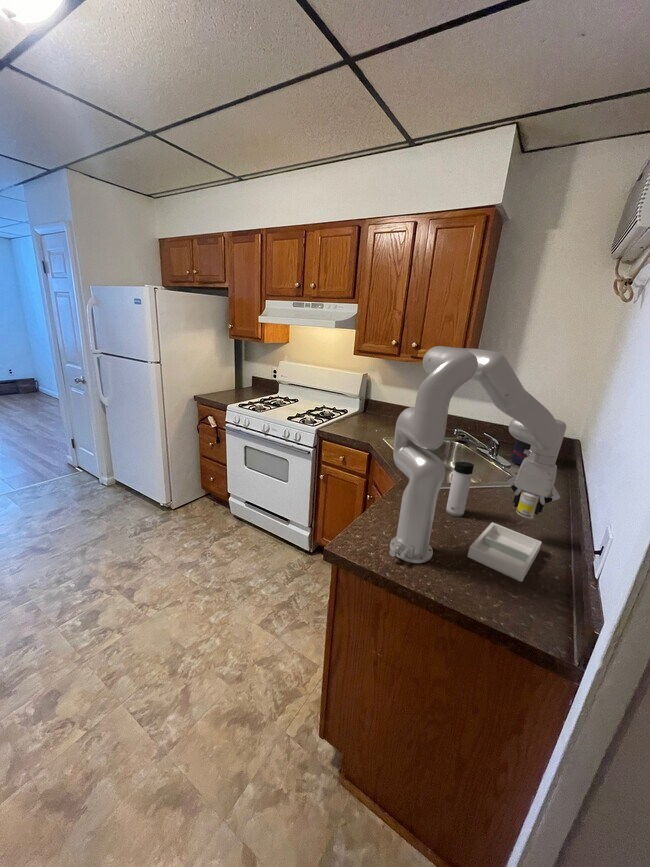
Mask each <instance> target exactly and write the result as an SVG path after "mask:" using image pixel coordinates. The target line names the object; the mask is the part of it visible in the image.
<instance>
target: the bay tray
mask: <svg viewBox="0 0 650 867" xmlns="http://www.w3.org/2000/svg"><path fill="white" fill-rule="evenodd" d="M541 546H542V541H541V540H538V539H535V538H533V537H531V536H528V535H525V534H523V533H520V532H517V531H515V530H512V529H510V528H508V527H505V526H503V525H500V524H498V523H495V522H493V521H492V522H491V523H489V525H488V526H487V527H486V528H485V529H484V531H482V533H481V534H480V535H479V536H478V537H477V538H476V539H475V540H474V541H473V542H472V544H471V545H470V546H469V547H468V548H469V549H468V553H467V558H469V559H471V560H473V561H475V562H477V563H479V564H482V565H483V566H485V567H488V568H490V569H492V570H494V571H497V572H499V573H500V574H503V575H504V576H507V577H509V578H512V579H513V580H515V581H518V582H520V583H523V581H524V580H525V577H526V576H527V574H528V573H529V571H530V568H531V566H532V565H533V563H534V562H535V560H536V558H537V556H538V554H539V552H540V549H541Z"/></svg>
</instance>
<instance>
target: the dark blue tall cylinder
mask: <svg viewBox="0 0 650 867" xmlns="http://www.w3.org/2000/svg"><path fill="white" fill-rule="evenodd" d="M513 445H514V446H513V449H512V450H513V451H512V454H511V458H510V460H511V461H512V464H513V463H515V464H516V465H520V466H521V464H522V462H523V460H524V458H526V457H527V455H526V454H524V450H529V449H530V448H531V445H530V444H528V443H525V442H523V441H520V440H518V439H516V438H515V442H514V444H513ZM515 464H514V465H515Z"/></svg>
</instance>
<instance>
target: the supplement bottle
mask: <svg viewBox="0 0 650 867" xmlns="http://www.w3.org/2000/svg"><path fill="white" fill-rule="evenodd" d="M539 502H540V496H539V495H536V494H533V493H530V492H527V491H524V490H522V491H521V495H520V498H519V502H518V506H517V507H516V508H515V509H516V510H515V511H516V513H517V515H518V516H521V517H523V518H526V519H534V518H535V516H536V515H535V512H536V508H537V505H538V503H539Z"/></svg>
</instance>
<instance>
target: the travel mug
mask: <svg viewBox="0 0 650 867" xmlns="http://www.w3.org/2000/svg"><path fill="white" fill-rule="evenodd" d="M474 467H475V465H474V463H472V462H469V461H456V462H455V463H454V467H453V472H452V477H451V478H452V479H451V483H450V487H449V492H448V496H447V497H448V499H447V504H446V509H445V511H446V513H447V514H449V515H451V516H454V517H463V516H464V514H465V511H466V505H467V501H468V495H469V491H470V487H471V482H472V478H473V473H474V472H473V471H474Z"/></svg>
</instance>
